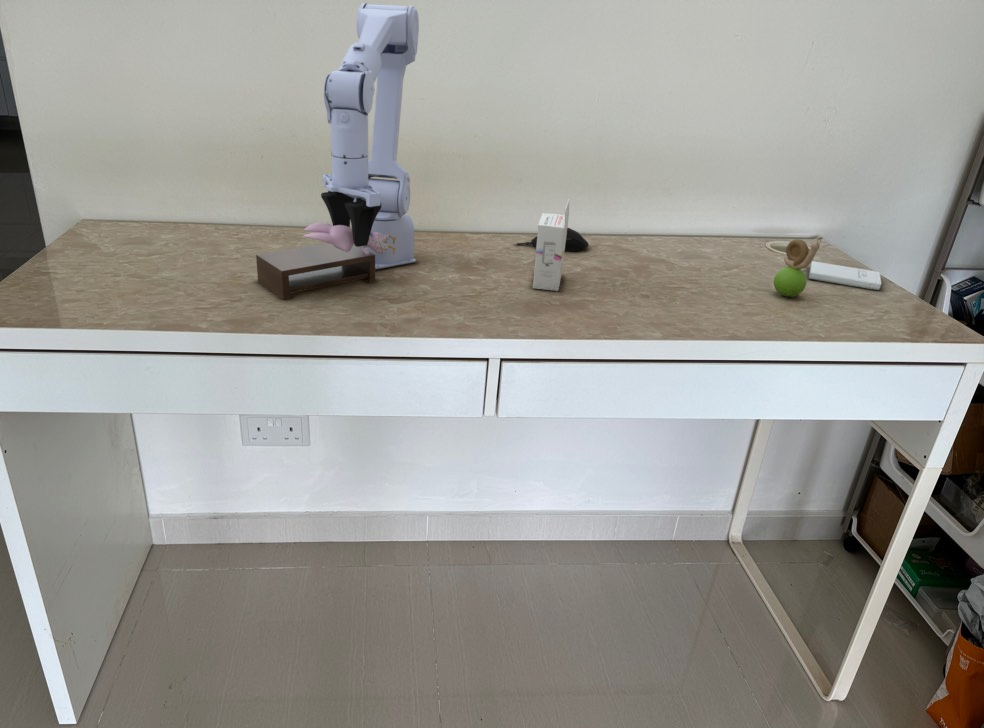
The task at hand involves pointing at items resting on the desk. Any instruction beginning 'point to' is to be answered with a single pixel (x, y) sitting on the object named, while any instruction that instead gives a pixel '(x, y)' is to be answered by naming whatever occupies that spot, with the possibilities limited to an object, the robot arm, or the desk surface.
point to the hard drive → (845, 275)
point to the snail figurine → (795, 268)
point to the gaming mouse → (567, 241)
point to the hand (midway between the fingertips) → (351, 240)
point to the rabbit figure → (347, 238)
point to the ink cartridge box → (550, 250)
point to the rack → (312, 268)
